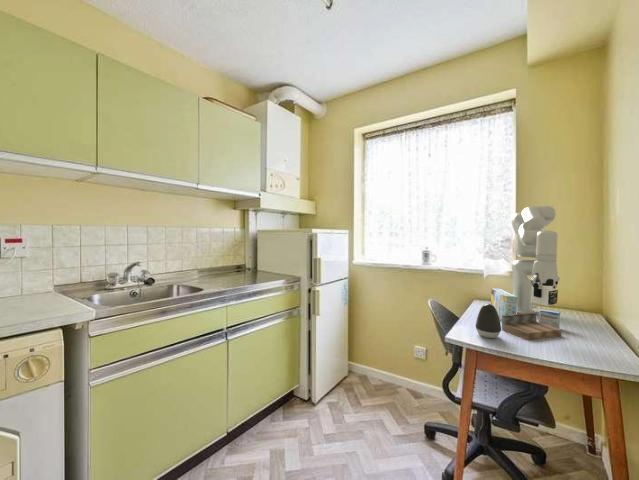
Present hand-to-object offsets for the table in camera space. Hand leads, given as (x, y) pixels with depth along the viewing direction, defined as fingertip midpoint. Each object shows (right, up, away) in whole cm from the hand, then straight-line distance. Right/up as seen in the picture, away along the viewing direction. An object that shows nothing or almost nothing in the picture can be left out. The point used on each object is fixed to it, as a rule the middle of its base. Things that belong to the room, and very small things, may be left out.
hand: (544, 296), depth 132 cm
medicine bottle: (0, -4, 0) cm, 4 cm away
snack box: (-1, -18, +28) cm, 34 cm away
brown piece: (-2, -19, +5) cm, 20 cm away
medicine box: (+13, -19, +13) cm, 26 cm away
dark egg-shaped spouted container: (-25, -19, +1) cm, 32 cm away
